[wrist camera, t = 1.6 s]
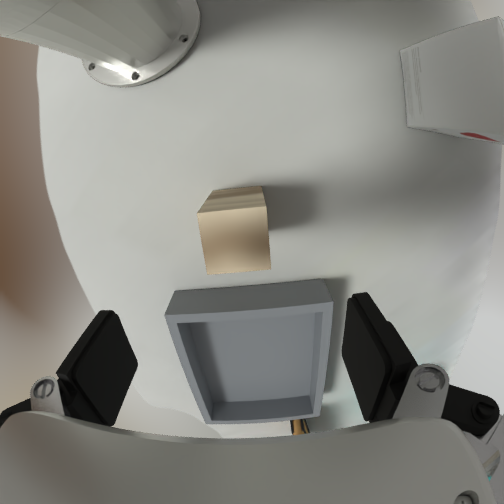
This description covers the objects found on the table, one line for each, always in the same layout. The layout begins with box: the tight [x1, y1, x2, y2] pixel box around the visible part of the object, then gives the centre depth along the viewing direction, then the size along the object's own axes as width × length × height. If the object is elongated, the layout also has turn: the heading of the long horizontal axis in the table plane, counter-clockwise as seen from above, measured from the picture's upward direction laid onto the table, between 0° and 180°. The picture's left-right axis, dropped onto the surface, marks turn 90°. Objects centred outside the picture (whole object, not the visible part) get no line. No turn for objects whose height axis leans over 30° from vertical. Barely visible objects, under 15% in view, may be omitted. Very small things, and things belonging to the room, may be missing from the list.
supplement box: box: [400, 17, 504, 144], centre depth 14 cm, size 9×9×15 cm
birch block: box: [197, 186, 271, 275], centre depth 22 cm, size 4×4×8 cm
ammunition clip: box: [290, 418, 310, 435], centre depth 34 cm, size 11×2×12 cm, turn 17°
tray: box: [165, 279, 334, 424], centre depth 31 cm, size 20×16×4 cm
